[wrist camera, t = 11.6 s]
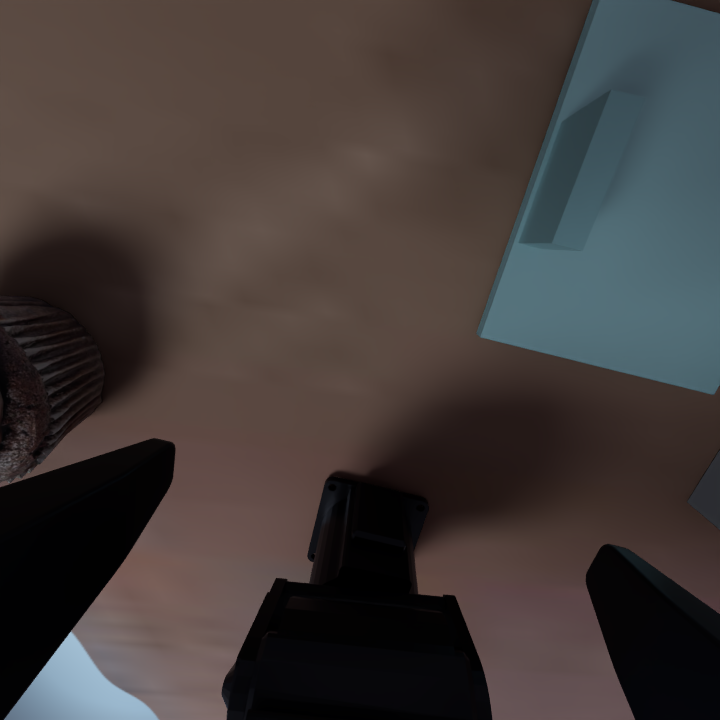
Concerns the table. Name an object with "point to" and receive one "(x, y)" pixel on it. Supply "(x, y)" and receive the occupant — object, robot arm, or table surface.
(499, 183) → the table surface
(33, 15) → the table surface
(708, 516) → the tub
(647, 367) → the lid
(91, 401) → the cupcake
